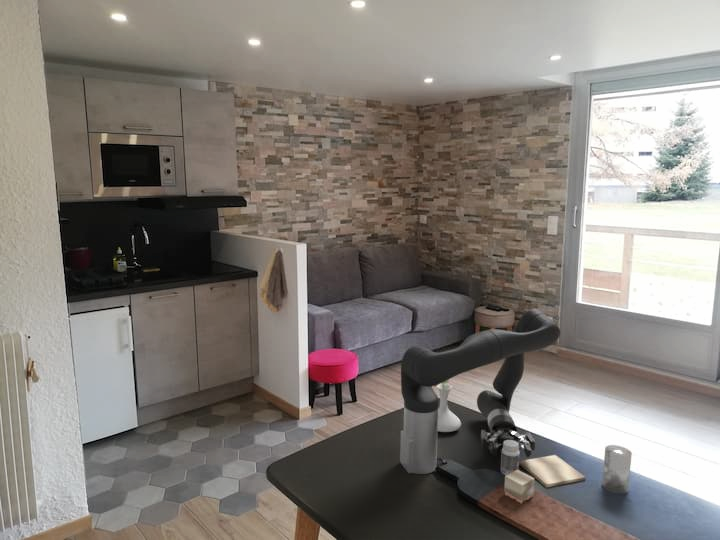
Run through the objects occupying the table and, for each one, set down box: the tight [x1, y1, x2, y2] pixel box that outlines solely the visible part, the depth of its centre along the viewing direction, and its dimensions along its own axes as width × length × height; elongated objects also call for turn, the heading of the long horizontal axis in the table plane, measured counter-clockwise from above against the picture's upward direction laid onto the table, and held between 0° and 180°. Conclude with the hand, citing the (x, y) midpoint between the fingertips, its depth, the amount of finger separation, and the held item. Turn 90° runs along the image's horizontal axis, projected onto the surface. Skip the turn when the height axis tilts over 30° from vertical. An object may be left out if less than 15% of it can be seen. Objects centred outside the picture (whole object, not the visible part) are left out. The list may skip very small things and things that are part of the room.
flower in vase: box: [434, 379, 462, 433], centre depth 161 cm, size 13×11×25 cm
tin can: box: [601, 444, 632, 495], centre depth 130 cm, size 6×6×10 cm
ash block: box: [503, 469, 536, 501], centre depth 127 cm, size 5×5×5 cm
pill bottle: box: [500, 440, 521, 476], centre depth 137 cm, size 5×5×8 cm
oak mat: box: [519, 454, 586, 488], centre depth 138 cm, size 12×12×1 cm
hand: (511, 452), depth 136 cm, fingers open, 8 cm apart
